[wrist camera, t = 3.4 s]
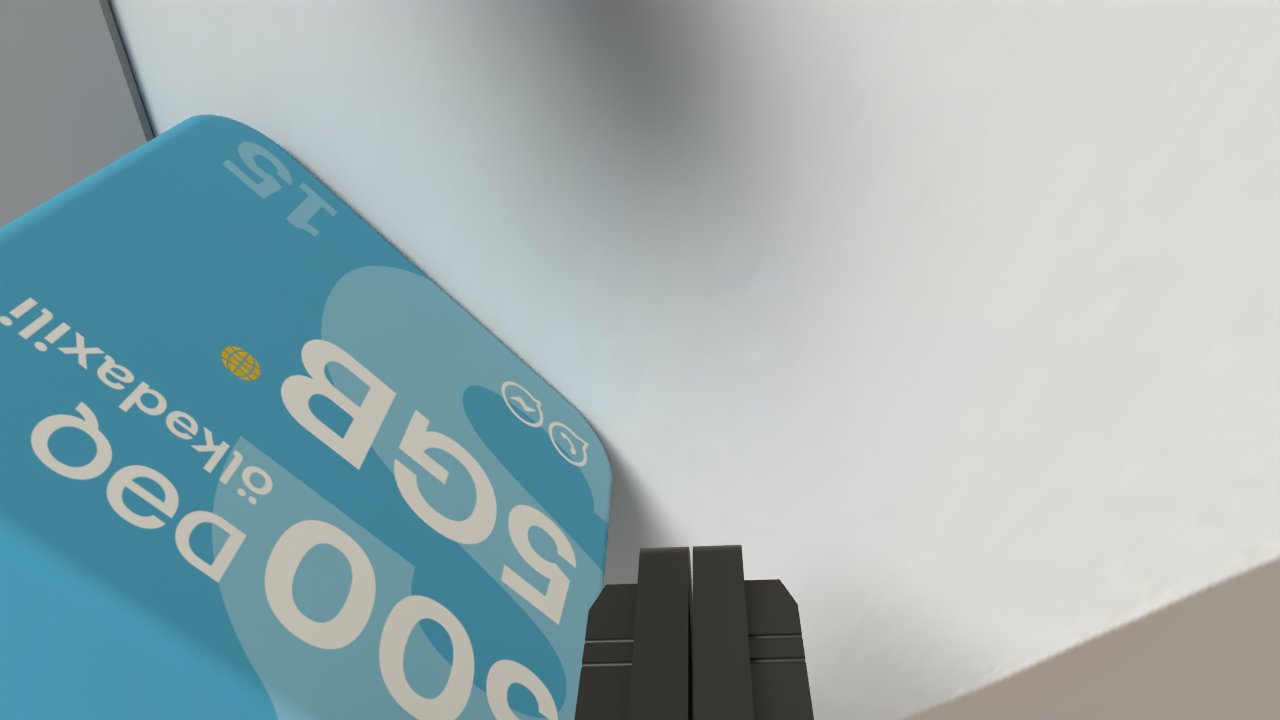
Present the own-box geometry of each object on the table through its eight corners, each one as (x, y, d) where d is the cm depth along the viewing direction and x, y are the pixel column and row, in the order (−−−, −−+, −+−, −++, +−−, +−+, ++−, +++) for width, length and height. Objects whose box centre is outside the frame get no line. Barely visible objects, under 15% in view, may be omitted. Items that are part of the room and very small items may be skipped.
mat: (72, -104, 19) (63, -103, 18) (324, 645, 28) (320, 652, 28) (-427, -53, 20) (-442, -51, 19) (-23, 653, 29) (-29, 660, 29)
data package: (620, 443, 24) (583, 910, 14) (499, 537, 26) (382, 1022, 15) (226, 92, 20) (-258, 369, 10) (111, 228, 22) (-413, 596, 11)
